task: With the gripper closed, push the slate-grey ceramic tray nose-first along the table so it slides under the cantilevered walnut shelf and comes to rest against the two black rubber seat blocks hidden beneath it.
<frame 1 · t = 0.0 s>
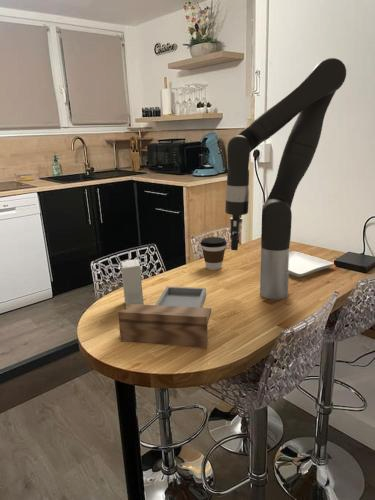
hand: (235, 246, 130), 17 cm above the breakfast bar, tool pointing down, fingers open, 8 cm apart
walnut cantilever shelf: (167, 334, 108), on the breakfast bar
slate tray: (181, 306, 126), on the breakfast bar
coffee cup: (213, 267, 162), on the breakfast bar
salad plate: (296, 269, 158), on the breakfast bar
skincare box: (134, 305, 128), on the breakfast bar
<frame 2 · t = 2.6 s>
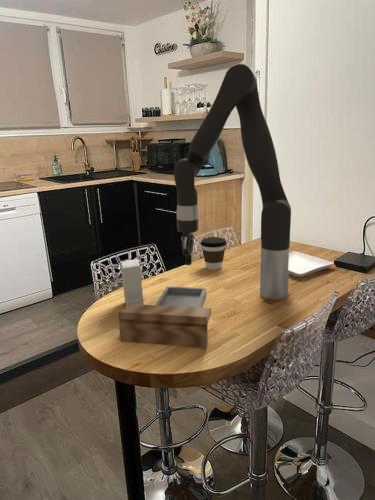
hand: (188, 264, 138), 9 cm above the breakfast bar, tool pointing down, fingers closed
nothing on the breakfast bar moved.
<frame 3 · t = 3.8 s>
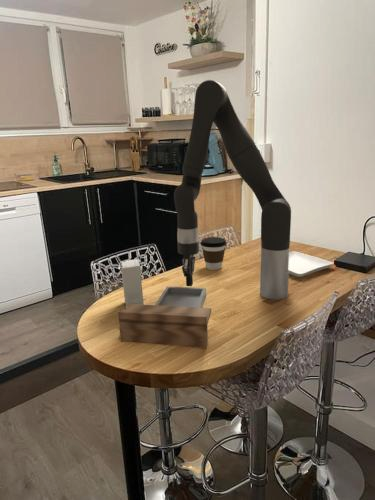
hand: (189, 285, 140), 1 cm above the breakfast bar, tool pointing down, fingers closed
nothing on the breakfast bar moved.
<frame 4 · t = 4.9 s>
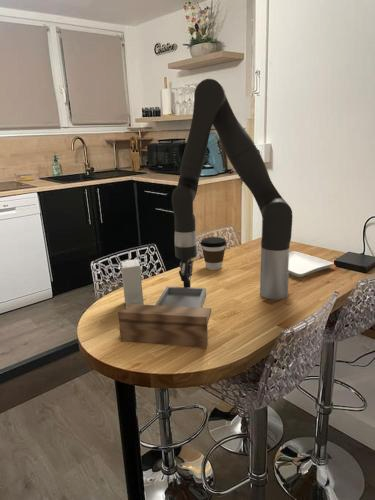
hand: (187, 290, 136), 1 cm above the breakfast bar, tool pointing down, fingers closed
slate tray: (181, 306, 126), on the breakfast bar, touching gripper
everything else where it was.
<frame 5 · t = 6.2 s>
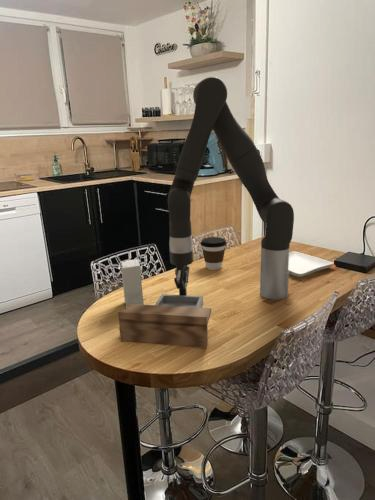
hand: (183, 297, 129), 1 cm above the breakfast bar, tool pointing down, fingers closed
slate tray: (176, 315, 120), on the breakfast bar, touching gripper
everything else where it was.
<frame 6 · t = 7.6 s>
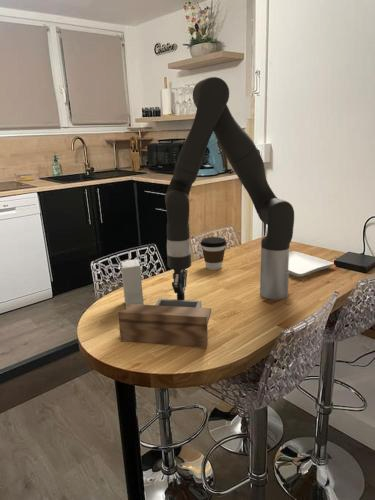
hand: (181, 302, 126), 1 cm above the breakfast bar, tool pointing down, fingers closed
slate tray: (174, 321, 116), on the breakfast bar, touching gripper
everything else where it was.
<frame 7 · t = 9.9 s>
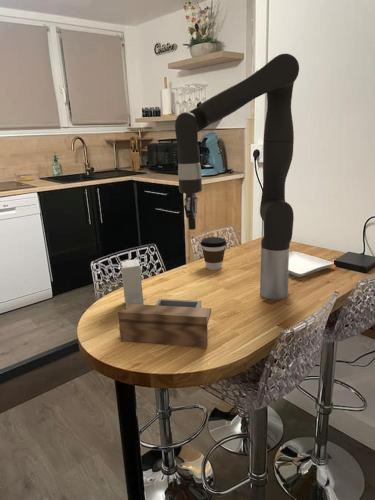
hand: (192, 229, 130), 23 cm above the breakfast bar, tool pointing down, fingers closed
slate tray: (174, 321, 116), on the breakfast bar
everything else where it was.
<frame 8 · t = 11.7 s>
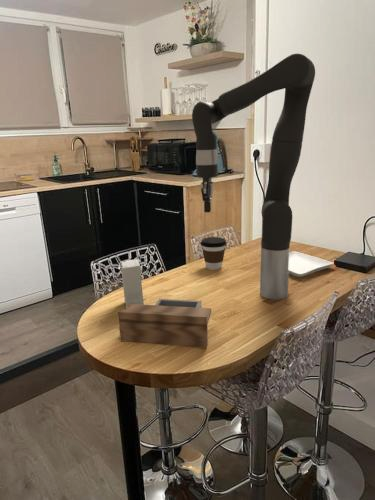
hand: (207, 211, 139), 27 cm above the breakfast bar, tool pointing down, fingers closed
nothing on the breakfast bar moved.
at the end: slate tray inside the target area (0.8 cm from its centre), on the breakfast bar; slate tray tilted 0° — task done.
